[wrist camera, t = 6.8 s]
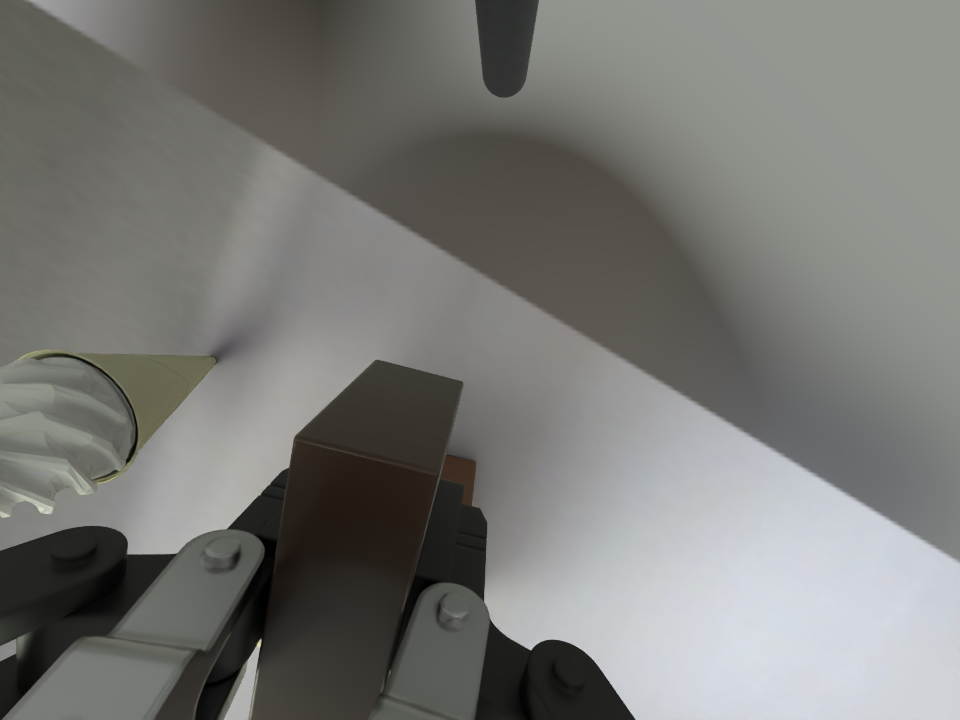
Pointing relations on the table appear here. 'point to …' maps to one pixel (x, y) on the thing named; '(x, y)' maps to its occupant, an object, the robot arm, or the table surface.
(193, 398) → the table surface
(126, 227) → the table surface
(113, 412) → the ice cream cone
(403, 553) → the knife
